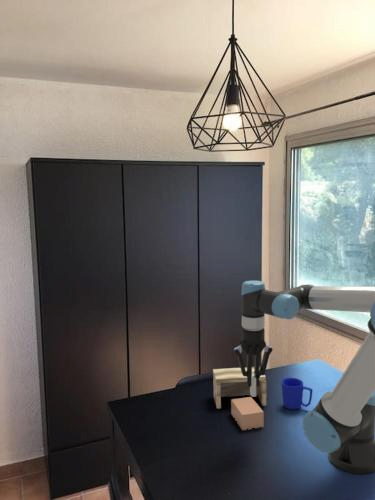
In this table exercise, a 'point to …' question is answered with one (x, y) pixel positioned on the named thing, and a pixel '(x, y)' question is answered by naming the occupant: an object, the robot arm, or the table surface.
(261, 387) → the shelf nook
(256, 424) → the tan brown block
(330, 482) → the table surface
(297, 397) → the mug
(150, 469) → the table surface
